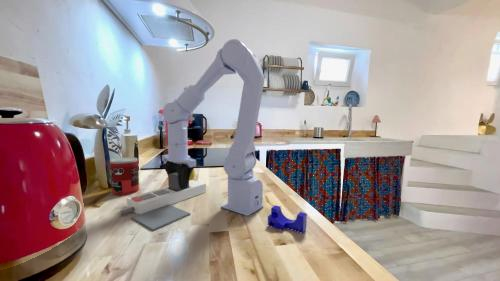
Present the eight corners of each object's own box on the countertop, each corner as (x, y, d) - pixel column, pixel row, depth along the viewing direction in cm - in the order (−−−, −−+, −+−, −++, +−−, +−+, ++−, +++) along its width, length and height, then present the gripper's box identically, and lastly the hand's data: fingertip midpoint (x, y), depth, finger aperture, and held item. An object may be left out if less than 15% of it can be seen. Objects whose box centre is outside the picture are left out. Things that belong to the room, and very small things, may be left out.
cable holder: (267, 226, 50) (268, 210, 50) (274, 220, 53) (275, 205, 53) (300, 237, 46) (301, 219, 45) (306, 230, 48) (306, 213, 48)
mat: (190, 214, 55) (190, 213, 55) (153, 231, 47) (153, 229, 47) (167, 205, 61) (167, 203, 61) (131, 218, 53) (131, 216, 53)
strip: (192, 188, 76) (192, 178, 76) (205, 192, 72) (205, 182, 71) (115, 212, 56) (114, 199, 55) (128, 220, 52) (127, 206, 51)
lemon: (192, 186, 78) (191, 164, 77) (177, 186, 78) (176, 164, 77) (196, 181, 83) (196, 161, 83) (182, 181, 84) (181, 161, 83)
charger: (189, 190, 68) (188, 173, 67) (177, 194, 64) (176, 176, 64) (180, 187, 70) (180, 171, 70) (168, 191, 67) (168, 173, 66)
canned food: (109, 191, 71) (107, 159, 70) (135, 186, 77) (133, 156, 76) (114, 197, 66) (112, 162, 65) (142, 191, 72) (141, 159, 70)
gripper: (203, 144, 65) (204, 187, 66) (175, 140, 73) (175, 179, 75) (184, 146, 59) (185, 193, 60) (155, 142, 67) (157, 184, 69)
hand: (178, 186), depth 67 cm, fingers closed on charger, 4 cm apart
